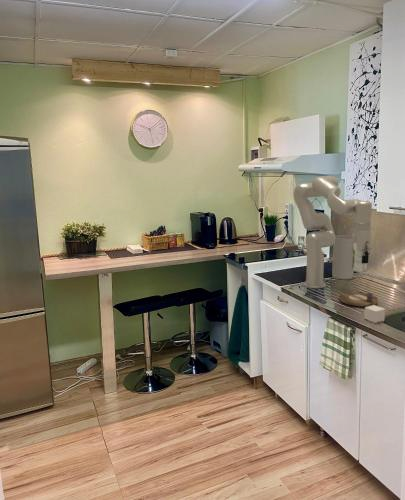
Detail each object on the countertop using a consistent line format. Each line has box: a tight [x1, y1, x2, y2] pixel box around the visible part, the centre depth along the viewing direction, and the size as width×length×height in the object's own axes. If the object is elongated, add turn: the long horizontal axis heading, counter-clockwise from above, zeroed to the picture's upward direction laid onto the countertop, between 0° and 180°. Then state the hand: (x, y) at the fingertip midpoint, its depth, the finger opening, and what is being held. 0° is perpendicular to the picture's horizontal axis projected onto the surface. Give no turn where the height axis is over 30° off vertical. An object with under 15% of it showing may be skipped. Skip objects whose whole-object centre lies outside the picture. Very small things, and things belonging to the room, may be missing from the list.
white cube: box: [363, 304, 386, 323], centre depth 188 cm, size 6×6×6 cm
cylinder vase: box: [331, 235, 355, 281], centre depth 254 cm, size 12×12×25 cm
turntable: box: [339, 291, 378, 307], centre depth 211 cm, size 18×18×6 cm
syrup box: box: [352, 243, 368, 273], centre depth 207 cm, size 6×6×14 cm
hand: (360, 261), depth 208 cm, fingers closed on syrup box, 7 cm apart
